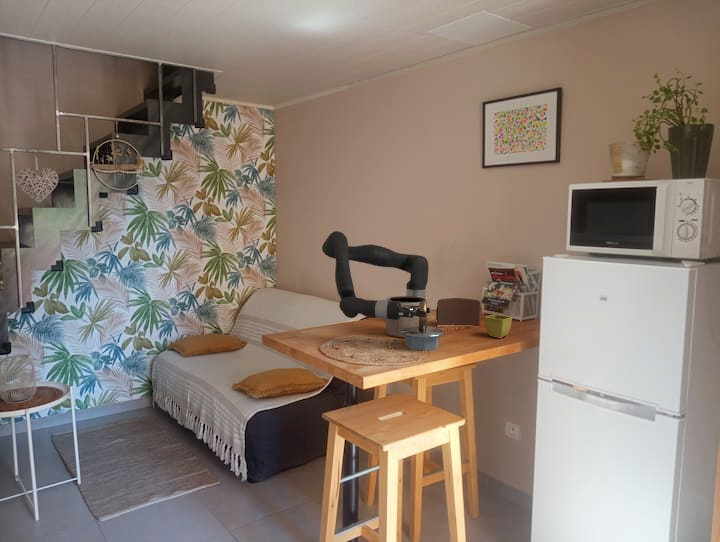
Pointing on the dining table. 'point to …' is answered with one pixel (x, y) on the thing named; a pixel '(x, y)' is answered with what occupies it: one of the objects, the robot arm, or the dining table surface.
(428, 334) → the spindle on round base
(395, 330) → the planter
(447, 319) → the letter holder
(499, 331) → the flower pot
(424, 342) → the bowl
